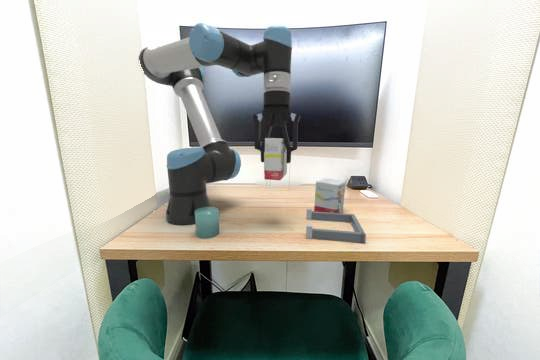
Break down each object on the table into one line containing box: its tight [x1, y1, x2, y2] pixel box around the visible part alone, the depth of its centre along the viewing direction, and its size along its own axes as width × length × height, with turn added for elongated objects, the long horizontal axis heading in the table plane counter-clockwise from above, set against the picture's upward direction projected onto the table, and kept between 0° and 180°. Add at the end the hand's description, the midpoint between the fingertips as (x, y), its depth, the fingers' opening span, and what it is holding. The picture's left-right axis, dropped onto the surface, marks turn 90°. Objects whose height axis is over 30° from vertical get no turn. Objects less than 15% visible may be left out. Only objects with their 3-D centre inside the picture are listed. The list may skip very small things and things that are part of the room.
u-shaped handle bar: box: [305, 207, 367, 244], centre depth 64 cm, size 15×15×4 cm
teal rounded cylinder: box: [194, 206, 220, 240], centre depth 60 cm, size 6×6×7 cm
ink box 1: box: [263, 137, 287, 181], centre depth 63 cm, size 9×5×12 cm, turn 165°
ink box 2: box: [313, 177, 346, 213], centre depth 78 cm, size 9×9×12 cm
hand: (275, 173), depth 64 cm, fingers closed on ink box 1, 5 cm apart
